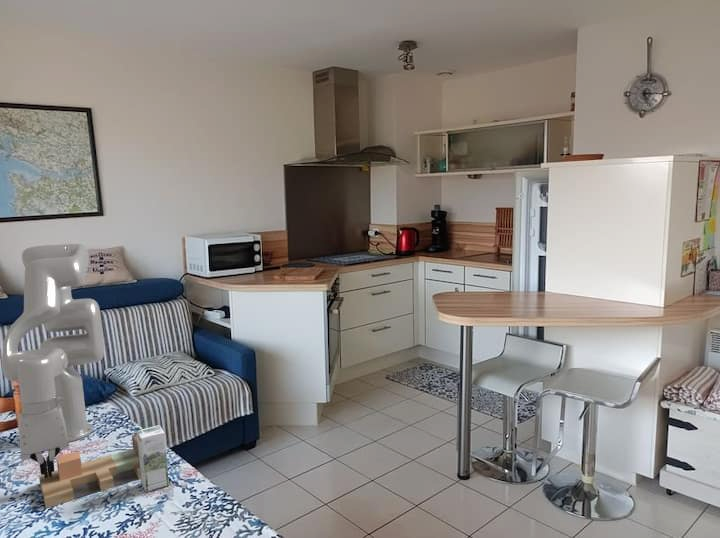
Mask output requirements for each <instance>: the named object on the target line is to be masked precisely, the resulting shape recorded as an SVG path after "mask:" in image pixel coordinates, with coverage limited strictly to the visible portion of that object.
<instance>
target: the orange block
mask: <svg viewBox="0 0 720 538" xmlns="http://www.w3.org/2000/svg"><path fill="white" fill-rule="evenodd" d="M55 458H56V467H57V470H58V474H59V478H60V481H62V480H65V479H69V478H72V477H76V476H79V475H82V467H81V464H82V461H81V460H82V459H81V456H80V453H79V451H73V452H69V453H66V454H65V453H64V454H61V455H57V456H56V457H55Z"/></svg>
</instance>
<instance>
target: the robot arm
mask: <svg viewBox="0 0 720 538" xmlns="http://www.w3.org/2000/svg"><path fill="white" fill-rule="evenodd" d="M21 260H22V263H23V265H24V267H25V269H24V286H23V287H24V289H23V290H24V291H23V313H22V314H21V315H20V316H19V317H18V318H17V319H16V320H15V321H14V322H13V323H12V325H11V326H10V328H9V329H8V330H7V332H6V334H5V336H4V339H3V344H2V357H1V358H2V359H1V360H2V361H1V367H2V375H4V378H5V379H7V381H10V382H18V388H19V395H20V404H21V405H20V406H21V412H20V413H19V414H18V423H17V424H18V427H17V428H18V443H19V448H20V453H19V458H20V460H21V461H22V460H24V461H26V460H32V461H34V462H36V463H38V464H39V471H40V475H43V474H44V476H45V478H47V477H48V475H49V477H52V472H54V471H56V470H55V463H54V461H55V458H56V457H57V456H59V455H58V454H60V452H62V451H65V450H66V449H68V448H70V444H69V442H74V441H77V440H81V439H83V438H85V437H87V436H89V435H90V434H91V433H93V430H94V426H93V425H92V424H91V423H88V422H87V413H86V405H85V404H86V403H85V395H84V385H83V379H82V376H81V375H80V372H79V371H77V370H76V369H75V368H74V367H75V366H81V365H88V364H94V363H95V364H96V363H98V362H101V361H102V360H103V358H104V356H105V345H104V336H103V335H104V333H103V326H102V323H103V322H102V317H101V316H102V315H101V310H100V305H99V303H98V302H97V301H96V300H95V299H92V298H78V299H76V298H75V299H74V298H73V296H72V287H77V286H81V285H82V284H83V283H84V282H85V278H86V277H87V271H88V267H89V264H90V256H89V251H88V248H87V247H86V246H85V245H84V244H82V243H65V244H47V245H46V244H45V245H37V246H31V247H30V246H29V247H28V248H26V249H24V250H23V251H22V253H21ZM41 325H43V327H44V330H46V331H47V332H50V333H59V332H69V331H81V330H83V331H84V332H86V333H78V334H65V335H58V336H53V337H49V338H47V339H45V340H43V342H42V343H41V344H40V346H39V348H37V349H35V348H34V349H30V350H29V349H28V350H19V351H18V349H19V348H18V347H19V344H20V342H21V341H22V340H23V338H24V337H25V336H27V334H28V333H30V332H31V331H32V330H34V329H36V328H38V327H40V326H41ZM46 451H48V453H47V456H46V458H45V457H44V456H43V452H46Z"/></svg>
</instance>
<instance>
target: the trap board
mask: <svg viewBox="0 0 720 538" xmlns="http://www.w3.org/2000/svg"><path fill="white" fill-rule="evenodd" d="M131 441H132V449H131V448H130V449H129V450H126V451H125V450H124V451H121V452H117V453H114V454H110V455H106V456H104V457H100V458H96V459H92V460H90V461H86V462H81V467H82V475H79V476H76V477H72V478H69V479H65V480H62V481H60V478H59V474H58V469H57V470H55V471H54V472H52V477H49V475H48V477H47V478H45V476H44V474H43V475H41V474H40V475H38V477H39V478H38V479H39V487H40V490H41V494H42V499H43V501H44V506H45V509H49V508H52V507H55V506H56V507H57V506H58V505H62V504H64V503H68V502H72V501H74V500H77V499H80V498H83V497H84V498H85V497H87V496H90V495H94V494H96V493H101V492H102V491H105V490H109V489H113V488H116V487H118V486H123V485H124V484H128V483H131V482H134V481H137V480H141V476H140V465H139V455H138V444H137V434H131Z"/></svg>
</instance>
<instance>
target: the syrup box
mask: <svg viewBox="0 0 720 538" xmlns="http://www.w3.org/2000/svg"><path fill="white" fill-rule="evenodd" d="M136 436H137V444H138V455H139V465H140V476H141V479H140V483H141V486H142V487H143V489H144V490H145V493H148V492H153V491H157V490H159V489H162V488H166V487H168V486H170V480H169V468H168V465H169V464H168V455H167V454H168V453H167V442H166V433H165V432H164V430H163V428H162V426H160V425H154V426H150V427H146V428H142V429H138V430H136Z"/></svg>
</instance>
